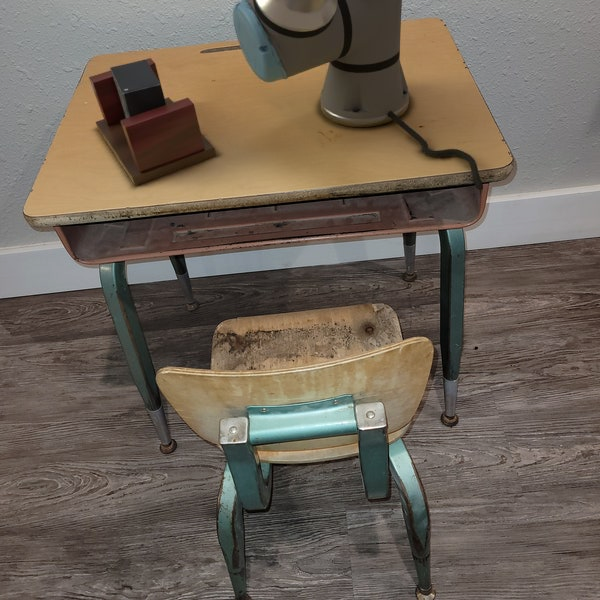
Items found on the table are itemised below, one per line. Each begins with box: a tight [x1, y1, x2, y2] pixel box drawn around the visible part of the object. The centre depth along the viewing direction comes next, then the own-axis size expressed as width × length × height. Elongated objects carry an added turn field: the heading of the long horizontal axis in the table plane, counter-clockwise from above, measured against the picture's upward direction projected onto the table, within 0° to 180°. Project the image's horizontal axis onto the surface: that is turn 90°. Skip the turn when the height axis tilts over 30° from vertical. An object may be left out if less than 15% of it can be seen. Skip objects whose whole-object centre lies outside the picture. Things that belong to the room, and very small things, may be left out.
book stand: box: [88, 58, 217, 187], centre depth 98 cm, size 21×14×10 cm, turn 29°
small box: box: [109, 58, 166, 118], centre depth 97 cm, size 11×6×10 cm, turn 23°
